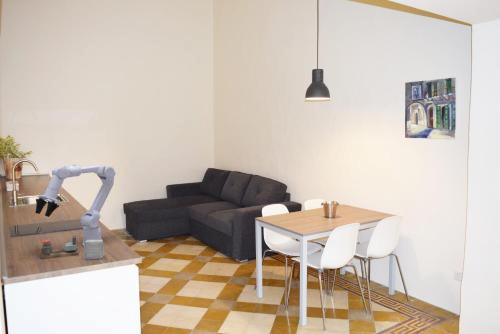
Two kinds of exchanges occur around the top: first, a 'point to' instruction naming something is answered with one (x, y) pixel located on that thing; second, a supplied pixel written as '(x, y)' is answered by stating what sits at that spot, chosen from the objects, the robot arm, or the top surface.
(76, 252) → the rail bed
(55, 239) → the top surface
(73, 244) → the carriage
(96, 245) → the medicine box
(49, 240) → the button
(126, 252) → the top surface
